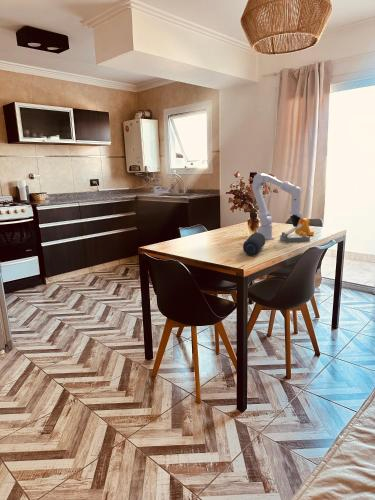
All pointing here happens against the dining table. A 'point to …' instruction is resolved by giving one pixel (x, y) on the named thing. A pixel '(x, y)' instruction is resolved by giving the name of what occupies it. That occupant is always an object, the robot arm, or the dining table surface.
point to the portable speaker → (254, 244)
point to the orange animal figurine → (304, 227)
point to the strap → (293, 229)
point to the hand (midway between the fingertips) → (295, 226)
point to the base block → (295, 237)
